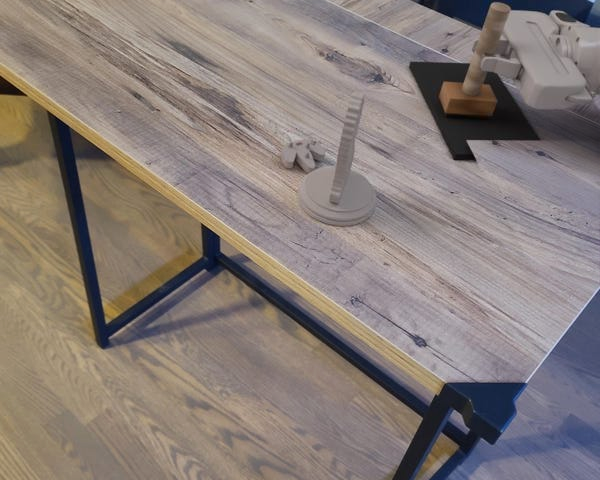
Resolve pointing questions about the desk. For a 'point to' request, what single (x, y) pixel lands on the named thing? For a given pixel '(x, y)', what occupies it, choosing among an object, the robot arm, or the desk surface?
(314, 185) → the grey upright stand
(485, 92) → the wooden peg stand
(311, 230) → the desk surface
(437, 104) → the notched black mat
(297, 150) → the game controller
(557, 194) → the desk surface
